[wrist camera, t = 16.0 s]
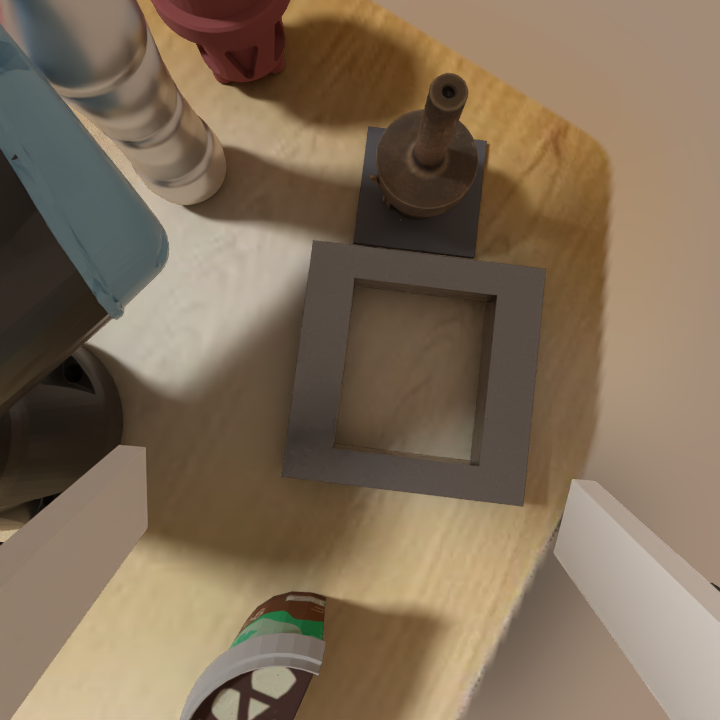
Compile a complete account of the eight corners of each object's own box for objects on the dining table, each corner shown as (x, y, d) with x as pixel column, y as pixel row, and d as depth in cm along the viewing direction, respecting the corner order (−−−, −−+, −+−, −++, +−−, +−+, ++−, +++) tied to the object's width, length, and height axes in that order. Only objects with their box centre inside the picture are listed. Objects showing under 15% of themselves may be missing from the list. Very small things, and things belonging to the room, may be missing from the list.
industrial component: (364, 230, 34) (368, 145, 22) (374, 146, 35) (383, 19, 23) (477, 243, 34) (543, 165, 22) (486, 159, 34) (554, 38, 23)
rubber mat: (353, 243, 34) (353, 242, 34) (368, 128, 35) (368, 126, 35) (473, 258, 34) (474, 257, 34) (485, 143, 35) (486, 141, 35)
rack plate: (287, 469, 33) (281, 476, 31) (316, 250, 34) (313, 240, 32) (510, 497, 33) (523, 506, 31) (531, 277, 34) (545, 268, 32)
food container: (263, 546, 33) (221, 617, 23) (333, 579, 33) (323, 665, 23) (195, 695, 32) (121, 836, 22) (266, 730, 32) (225, 887, 22)
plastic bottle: (245, 196, 34) (91, -65, 15) (169, 226, 34) (-94, 2, 14) (217, 127, 35) (31, -220, 15) (142, 156, 35) (-150, -157, 15)
